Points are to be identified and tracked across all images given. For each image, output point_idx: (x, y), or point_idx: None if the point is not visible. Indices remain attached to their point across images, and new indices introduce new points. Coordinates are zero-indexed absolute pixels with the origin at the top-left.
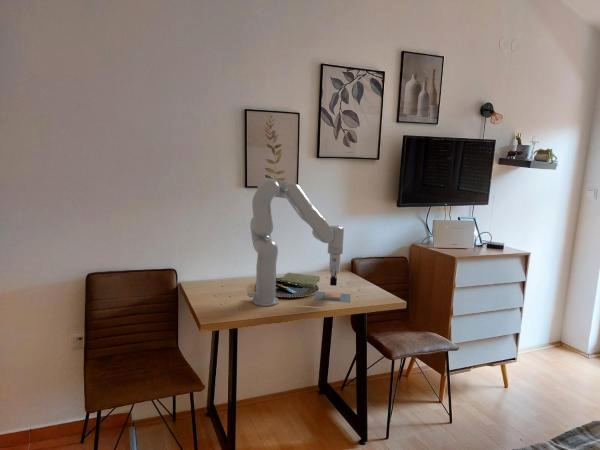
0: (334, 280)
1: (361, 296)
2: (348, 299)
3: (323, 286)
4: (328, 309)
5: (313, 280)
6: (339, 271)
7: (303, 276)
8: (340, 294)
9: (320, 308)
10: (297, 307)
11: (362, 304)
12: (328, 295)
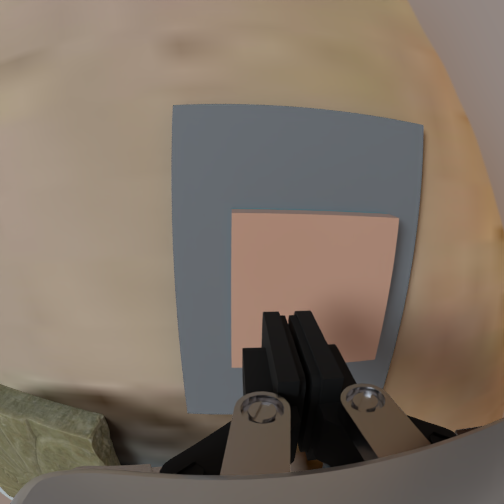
0: (349, 381)
1: (176, 11)
2: (349, 129)
3: (24, 354)
4: (501, 285)
5: (26, 431)
6: (487, 449)
7: (4, 460)
8: (309, 216)
9: (485, 330)
10: (453, 426)
11: (394, 26)
12: (357, 330)
